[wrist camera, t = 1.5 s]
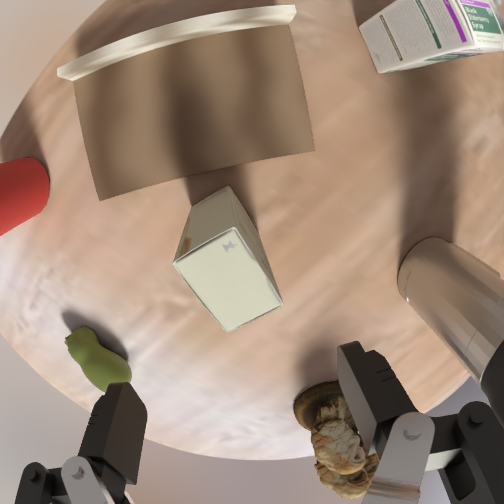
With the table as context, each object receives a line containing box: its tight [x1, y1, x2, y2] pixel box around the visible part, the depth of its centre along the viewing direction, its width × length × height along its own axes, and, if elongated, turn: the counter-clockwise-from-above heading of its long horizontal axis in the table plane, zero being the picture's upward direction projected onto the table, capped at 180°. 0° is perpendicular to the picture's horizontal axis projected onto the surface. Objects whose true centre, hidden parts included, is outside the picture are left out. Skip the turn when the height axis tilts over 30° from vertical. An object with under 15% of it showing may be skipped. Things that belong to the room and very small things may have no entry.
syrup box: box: [359, 0, 504, 73], centre depth 15 cm, size 6×6×14 cm
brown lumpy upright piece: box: [294, 381, 380, 499], centre depth 34 cm, size 18×12×17 cm, turn 43°
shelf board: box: [57, 5, 315, 201], centre depth 21 cm, size 20×13×5 cm, turn 101°
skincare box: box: [173, 186, 283, 332], centre depth 23 cm, size 6×4×12 cm
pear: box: [65, 326, 132, 393], centre depth 31 cm, size 6×5×10 cm
